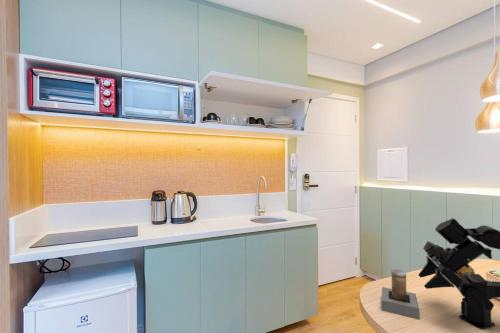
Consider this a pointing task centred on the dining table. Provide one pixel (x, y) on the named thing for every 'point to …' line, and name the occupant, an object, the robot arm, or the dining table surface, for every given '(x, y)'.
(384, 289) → the grey square frame
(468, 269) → the bread roll
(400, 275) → the post
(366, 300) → the dining table surface
